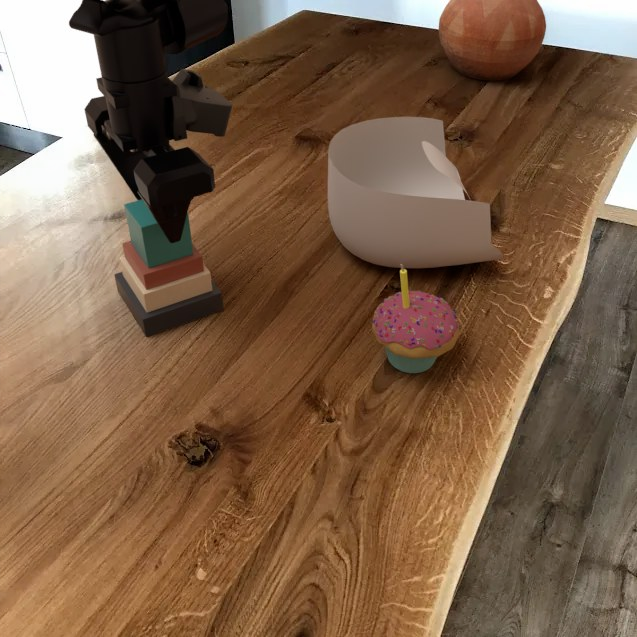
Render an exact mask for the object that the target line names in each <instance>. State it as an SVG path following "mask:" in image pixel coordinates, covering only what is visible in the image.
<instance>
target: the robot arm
mask: <svg viewBox="0 0 637 637" xmlns="http://www.w3.org/2000/svg"><path fill="white" fill-rule="evenodd" d="M228 19H229V9H228V5H227V3H226V2H225V0H81V3H80V5H79V6H78V8H77V9H76V10H75V11H74V12H73V13H72V15H71V17H70V19H69V21H68V26H69V28H71V29H72V30H75V31H79V32H83V33H87V34H91V35H93V39H94V43H95V50H96V54H97V55H96V56H97V60H98V64H99V71H100V75H101V76H100V77H97V78H95V79H96V80H95V81H96V84H97V90H98V91H99V92H100V93H101V95H102V96H98V97H93V98H91V99H90V100H89V101H88V103H87V104H86V106H85V108H83V109H84V114H85V117H86V123H87V127H88V129H90V130H91V132H92V134H93V137H94V139H95V140H96V141H97V143H98V144H99V146H100V147H101V149H102V150H103V151H104V154H106V156H107V158H108V159H109V160H110V162H111V164H112V165H113V166H114V168H115V169H116V171H117V172H118V174H119V175H120V176H121V178H122V180H123V181H124V183H125V184H126V185H127V187H128V188H129V190H130V191H131V193H132V195H133V196H134V198H135V199H136V201H138V200H143V202H144V203H145V205H146V206H147V208H148V209H149V211H150V212H151V214H152V216H153V217H154V219H155V220H156V222H157V223H158V225H159V227H160V228H161V230H162V231H163V233H164V234H165V236H166V237H167V239H168V241H169V242H170V243H175V242H178V241H180V240H181V237H182V233H183V229H184V224H185V220H186V216H187V213H188V211H189V209H190V206H191V202H192V201H193V199H195V198H196V197H200V196H203V195H205V194H208V193H212V192H214V189H215V188H216V182H215V171H214V170H215V169H214V168H213V166H211V165H210V164H209V162H207V161H206V160H205V158H203V156H201V154H199V152H197V151H196V150H194V149H193V148H191V147H190V146H185V147H181V148H177V149H175V148H174V147H173V146H172V145H171V144H170V143H171V141H174V142H178V141H183V140H187V139H188V132H190V133H191V132H192V133H201V134H208V135H209V134H210V135H214V137H219V138H221V137H225V136H226V132H227V128H228V124H229V122H230V117H231V113H232V108H233V103H232V102H231V101H229V100H228V98H226V97H225V96H223V94H221V93H220V92H219V91H218V90H215V89H212V88H211V87H210V85H204V83H203V79H202V76H201V75H199V74H198V72H196V71H195V70H192V69H186V68H181V69H180V70H179V71H178V73H177V74H176V76H175V77H174V78H173V79H171V78H169V77H168V76H169V75H168V70H167V62H166V61H167V60H166V55H165V53H166V54H169V55H178V54H181V53H182V52H185V51H187V50H189V49H191V48H193V47H196V46H197V45H200V44H202V43H204V42H206V41H208V40H210V39H212V38H214V37H217V36H219V35H220V34H221V33H223V31H224V30H225V28H226V27H227V23H228ZM187 131H188V132H187Z"/></svg>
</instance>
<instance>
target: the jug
mask: <svg viewBox="0 0 637 637" xmlns="http://www.w3.org/2000/svg"><path fill="white" fill-rule="evenodd" d="M546 30H547V20H546V15H545V13H544V10H543V7H542V6H541V4H540V2H539V1H538V0H449V1H448V3H447V4H446V6H445V7H444V9H443V10H442V13H441V15H440V16H439V19H438V35H439V36H438V37H439V42H440V45H441V48H442V50H443V52H444V53H445V55H446V57H447V59H448V60H449V62H450V63H451V65H452V66H453V68H454V69H455V70H456V71H457V72H458V73H459V74H461V75H463V76H466V77H467V78H470V79H474V80H478V81H479V80H480V81H484V82H485V81H487V82H488V81H489V82H490V81H491V82H496V81H497V82H498V81H504V80H509V79H511V78H514V77H515V76H516V75H518V74H519V73H520V72H521V71H522V70H523V69H524V68H525V67H526V66H528V65H529V64H530V63H531V62H532V61H533V59H534V58H535V57H536V56H537V55H538V53H539V51H540V50H541V47H542V45H543V42H544V39H545V36H546V32H547V31H546Z"/></svg>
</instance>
